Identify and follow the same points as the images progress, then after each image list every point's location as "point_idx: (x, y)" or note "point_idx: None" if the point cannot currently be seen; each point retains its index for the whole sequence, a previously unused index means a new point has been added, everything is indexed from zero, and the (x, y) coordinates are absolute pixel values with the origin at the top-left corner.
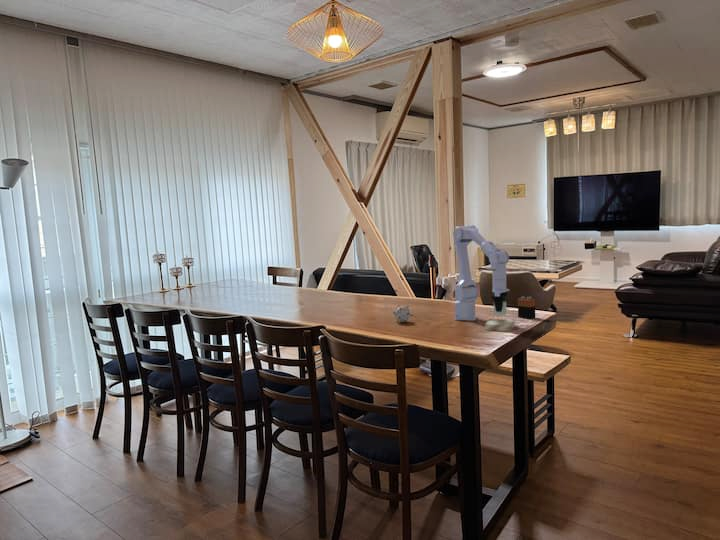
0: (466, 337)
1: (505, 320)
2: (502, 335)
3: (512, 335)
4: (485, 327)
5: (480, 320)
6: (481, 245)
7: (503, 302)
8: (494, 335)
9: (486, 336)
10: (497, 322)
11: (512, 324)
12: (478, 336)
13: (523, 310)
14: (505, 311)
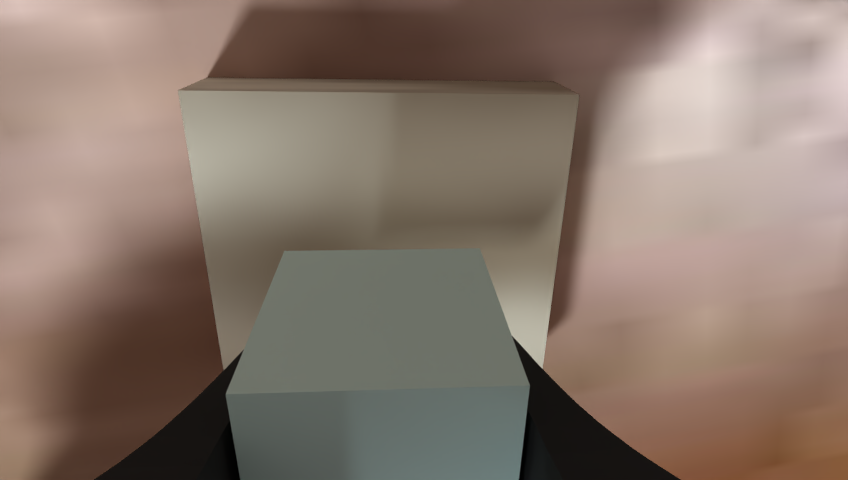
0: (817, 442)
1: (258, 216)
2: (761, 161)
3: (767, 45)
4: None
5: (82, 470)
6: None
7: (375, 433)
8: (756, 240)
9: (794, 304)
10: None
11: (455, 91)
12: (788, 367)
13: None
14: (402, 272)
